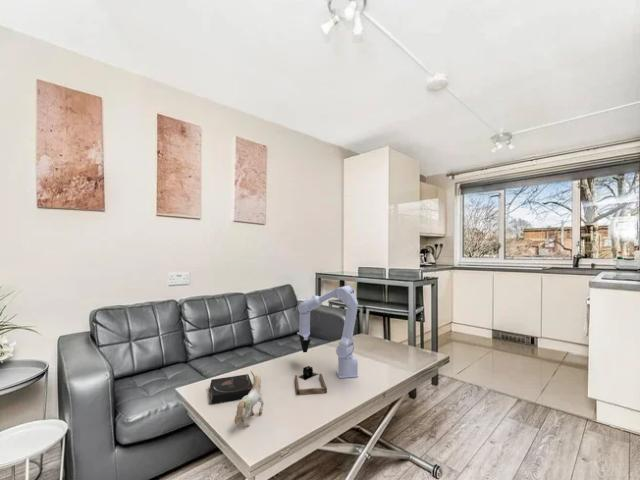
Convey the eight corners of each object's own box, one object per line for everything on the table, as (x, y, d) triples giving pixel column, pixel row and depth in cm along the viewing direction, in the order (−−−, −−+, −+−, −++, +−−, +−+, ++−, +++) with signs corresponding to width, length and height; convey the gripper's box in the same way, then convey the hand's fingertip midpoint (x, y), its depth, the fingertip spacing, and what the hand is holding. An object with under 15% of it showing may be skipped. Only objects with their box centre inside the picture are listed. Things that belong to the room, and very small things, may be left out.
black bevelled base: (304, 383, 141) (303, 373, 142) (293, 378, 146) (293, 369, 146) (321, 374, 151) (321, 365, 151) (311, 371, 155) (311, 362, 156)
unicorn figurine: (267, 404, 120) (267, 370, 121) (253, 433, 101) (254, 393, 101) (250, 403, 121) (250, 370, 121) (233, 432, 101) (233, 392, 102)
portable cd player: (209, 388, 135) (209, 379, 135) (248, 382, 141) (248, 374, 142) (211, 406, 120) (211, 395, 120) (253, 398, 126) (253, 388, 126)
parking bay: (321, 377, 146) (321, 373, 146) (326, 393, 130) (326, 388, 130) (294, 379, 144) (294, 375, 144) (297, 395, 128) (297, 390, 128)
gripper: (296, 321, 168) (295, 345, 167) (298, 327, 153) (297, 354, 153) (308, 321, 169) (308, 345, 168) (311, 327, 154) (311, 354, 154)
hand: (304, 349), depth 161 cm, fingers open, 7 cm apart
